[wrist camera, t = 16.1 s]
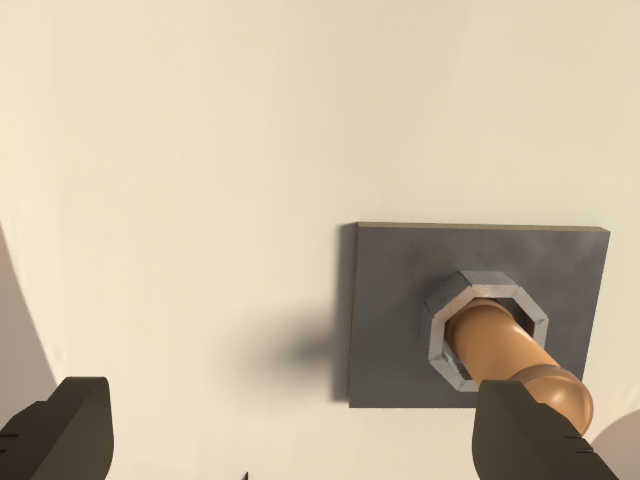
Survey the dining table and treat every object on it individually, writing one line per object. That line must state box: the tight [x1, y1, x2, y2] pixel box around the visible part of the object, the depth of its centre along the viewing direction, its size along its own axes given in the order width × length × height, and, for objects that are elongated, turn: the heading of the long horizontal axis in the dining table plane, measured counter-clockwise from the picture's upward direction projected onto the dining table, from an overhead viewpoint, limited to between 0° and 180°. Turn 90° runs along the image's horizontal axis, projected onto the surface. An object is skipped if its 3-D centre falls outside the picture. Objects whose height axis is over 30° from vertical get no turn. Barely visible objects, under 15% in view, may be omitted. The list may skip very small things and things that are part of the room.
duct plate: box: [348, 222, 610, 408], centre depth 42 cm, size 16×20×4 cm
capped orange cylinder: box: [444, 297, 593, 437], centre depth 36 cm, size 5×5×13 cm
